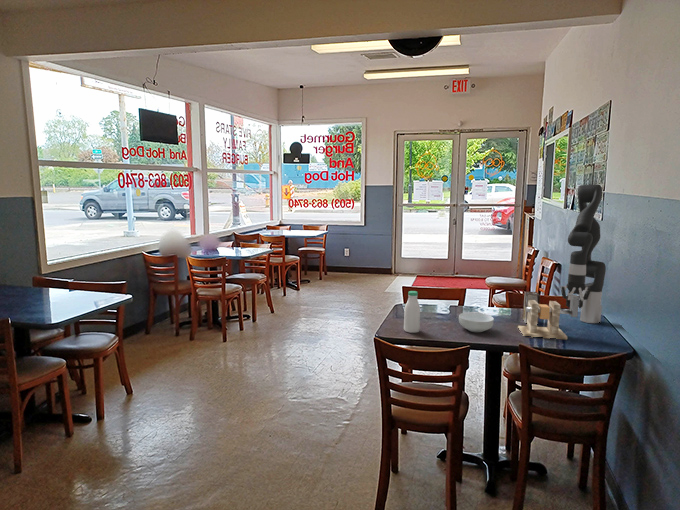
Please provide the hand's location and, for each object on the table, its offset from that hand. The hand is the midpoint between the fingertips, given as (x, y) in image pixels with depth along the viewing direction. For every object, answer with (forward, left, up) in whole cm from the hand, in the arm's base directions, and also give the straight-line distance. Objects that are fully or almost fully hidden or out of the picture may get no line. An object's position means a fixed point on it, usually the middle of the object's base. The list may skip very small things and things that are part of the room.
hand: (574, 307), depth 239 cm
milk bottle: (+78, +8, -15) cm, 80 cm away
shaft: (+10, 0, -4) cm, 11 cm away
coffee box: (+15, -20, -15) cm, 29 cm away
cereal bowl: (+46, 0, -15) cm, 48 cm away
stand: (+14, 0, -14) cm, 20 cm away
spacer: (+14, 0, -6) cm, 15 cm away
